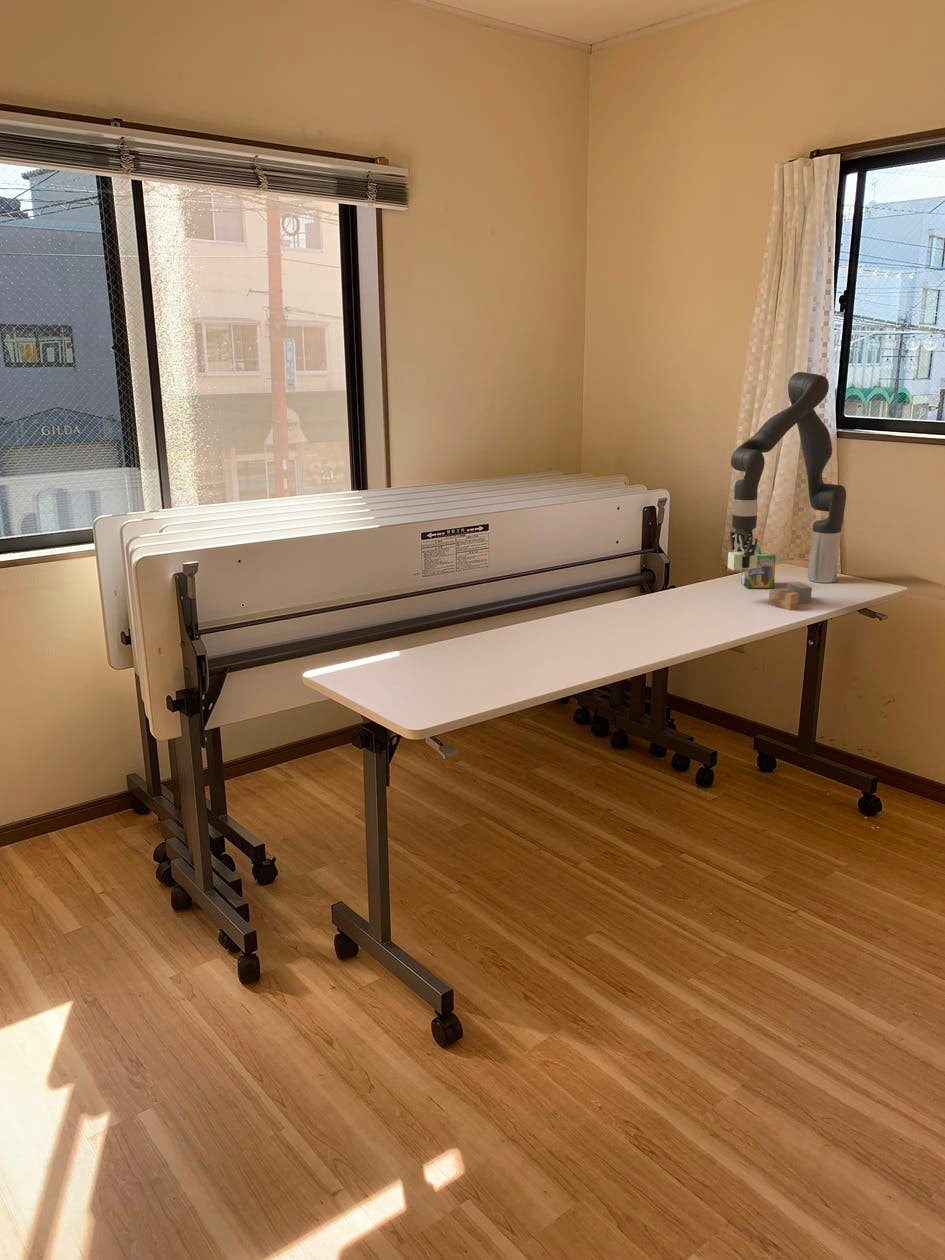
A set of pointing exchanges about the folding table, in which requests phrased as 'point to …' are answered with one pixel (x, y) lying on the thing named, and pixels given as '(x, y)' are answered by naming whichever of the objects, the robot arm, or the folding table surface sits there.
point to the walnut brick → (783, 599)
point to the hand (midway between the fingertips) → (741, 566)
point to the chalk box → (760, 571)
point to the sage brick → (740, 561)
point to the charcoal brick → (801, 591)
